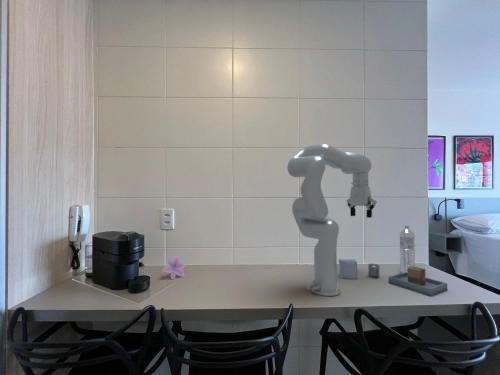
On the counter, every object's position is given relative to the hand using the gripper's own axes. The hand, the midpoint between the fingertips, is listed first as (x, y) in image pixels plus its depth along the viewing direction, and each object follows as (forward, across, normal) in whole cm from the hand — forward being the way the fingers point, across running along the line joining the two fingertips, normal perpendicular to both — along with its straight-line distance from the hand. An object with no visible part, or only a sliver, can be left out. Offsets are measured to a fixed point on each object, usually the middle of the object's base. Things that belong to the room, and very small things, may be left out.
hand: (360, 216), depth 133 cm
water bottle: (+31, +10, +24) cm, 40 cm away
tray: (+30, +23, +8) cm, 39 cm away
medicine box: (+31, -1, -9) cm, 32 cm away
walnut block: (+29, +23, +8) cm, 38 cm away
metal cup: (+30, +5, +3) cm, 31 cm away
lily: (+31, -46, -86) cm, 102 cm away
